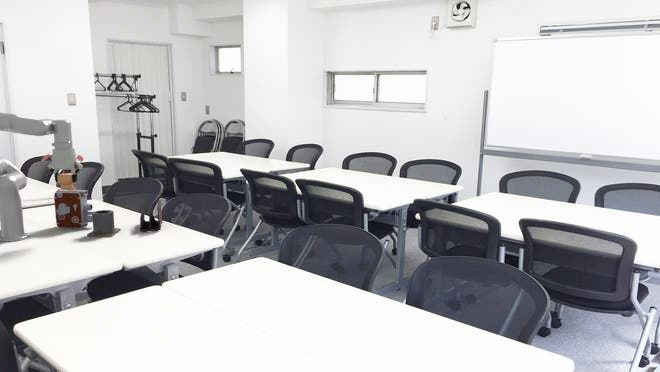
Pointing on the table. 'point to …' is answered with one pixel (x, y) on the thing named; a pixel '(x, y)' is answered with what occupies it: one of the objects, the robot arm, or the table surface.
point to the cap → (65, 181)
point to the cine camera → (72, 209)
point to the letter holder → (151, 220)
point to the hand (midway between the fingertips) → (66, 181)
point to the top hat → (103, 224)
